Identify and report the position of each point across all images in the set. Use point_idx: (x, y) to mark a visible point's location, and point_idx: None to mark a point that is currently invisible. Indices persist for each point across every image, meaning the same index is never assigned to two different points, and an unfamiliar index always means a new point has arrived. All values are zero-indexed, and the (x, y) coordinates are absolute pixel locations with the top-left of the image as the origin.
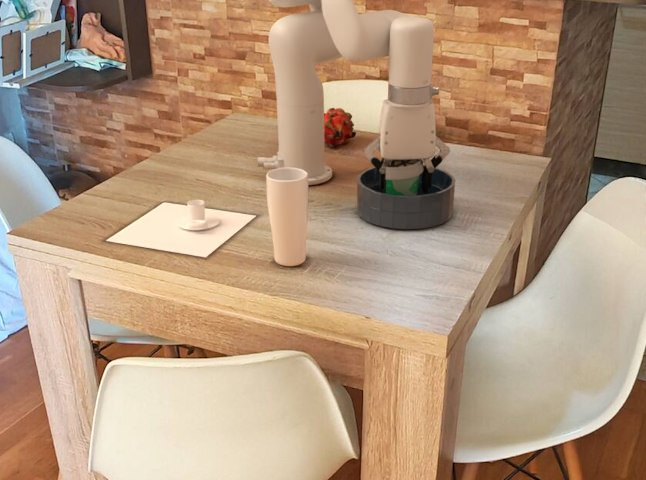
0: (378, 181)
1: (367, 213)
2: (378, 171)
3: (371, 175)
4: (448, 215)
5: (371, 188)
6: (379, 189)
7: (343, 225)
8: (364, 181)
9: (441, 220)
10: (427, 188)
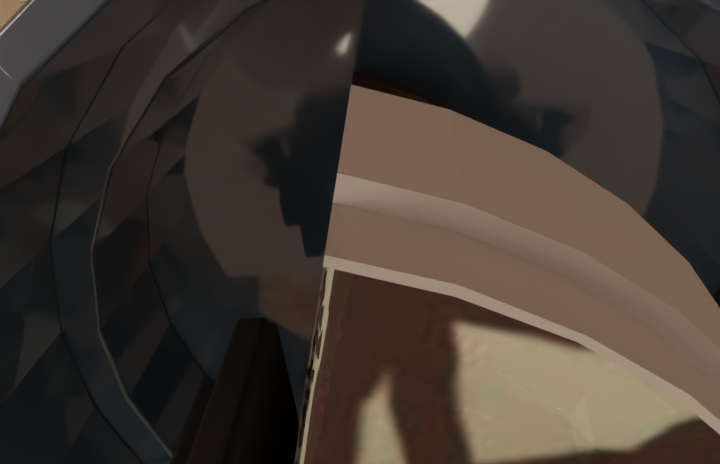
0: (168, 5)
1: None
2: (113, 19)
3: (51, 106)
4: None
5: (128, 144)
6: (209, 47)
7: None
8: (21, 222)
9: None
10: None
